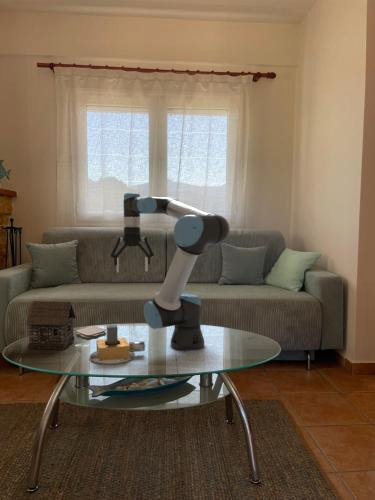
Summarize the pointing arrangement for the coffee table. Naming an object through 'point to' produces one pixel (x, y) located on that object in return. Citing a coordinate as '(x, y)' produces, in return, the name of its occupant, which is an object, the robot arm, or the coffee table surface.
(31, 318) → the model building
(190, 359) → the coffee table surface
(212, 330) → the coffee table surface
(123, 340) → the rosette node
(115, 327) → the wedge pin
